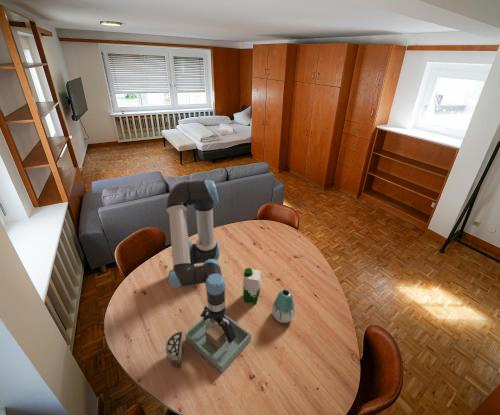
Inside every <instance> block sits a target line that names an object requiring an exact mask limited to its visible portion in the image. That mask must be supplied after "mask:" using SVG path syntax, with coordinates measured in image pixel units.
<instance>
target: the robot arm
mask: <svg viewBox="0 0 500 415" xmlns="http://www.w3.org/2000/svg"><path fill="white" fill-rule="evenodd" d="M219 200H220V199H219V196H218V191H217V186H216V183H215V181H214V180H212V179H209V180H208V179H204V180H193V181H182V182H179V183H177V184H176V185H175V186H173V188H172V189H171V191H170V192H169V193H168V196H167V199H166V205H165V207H166V208H165V209H166V212H167V213H168V216H169V217H168V218H169V229H170V242H171V257H172V269H169V271H168V282H169V286H170V287H171V288H180V287H181V288H182V287H187V286H191V285H200V284H205V290H206V302H207V304H206V305H205V306H204V307H203V311H202V313H201V314H199V315H200V317H201V318H203V319H204V323H205V330H207V329H208V328H209V327H210V326H211V324H210V319H211V318H213V320H215V321H216V322H217V323H218V325H219V326H220V327H221V328H222V330H223V331H224V333H225V335H226V337H227V338H226V347H227V348H228V347H229V346H230V345H231V342H232V341H233V340H234V339H235V338H236V335H235V333H234V330H233V328H232V326H231V322H230V319H231V318H230V319H228V320H226V319H225V316H224V314H225V315H226V291H225V289H226V288H225V287H226V283H225V278H224V276H223V274H222V268H221V266H220V263H219V262H218V260H219V258H220V243H219V241H218V240H216V239H215V236H214V212H213V210H214V208H216V204H218V203H219V202H220V201H219ZM189 206H191V207H192V208H193V209H194V210H195V214H196V228H197V240H196V242H195V243H192V242H191V241H190V240H189V231H188V223H187V222H188V221H187V213H186V212H187V211H188V207H189ZM197 264H202V265H197ZM221 322H222V323H221ZM220 323H221V324H220Z"/></svg>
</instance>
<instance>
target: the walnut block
mask: <svg viewBox="0 0 500 415" xmlns="http://www.w3.org/2000/svg"><path fill="white" fill-rule="evenodd" d="M221 323H222V322H221ZM221 323H220V324H221ZM205 335H206V342H207V343H208V344H209V345H210V346H211V347H212V348H214V349H215V350H216V351H218V350H219V349H220V347H221V346H222V345H223V344H224V343H225V342H226V338H227V337H226V335H225V333H224V331H223V330H222V328H221V327H220V326H219V325H218V323H217V322H215V323H213V324H212V325H211V326H210V327H209V328H208V329H207V330H206V331H205Z"/></svg>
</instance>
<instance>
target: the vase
mask: <svg viewBox="0 0 500 415" xmlns="http://www.w3.org/2000/svg"><path fill="white" fill-rule="evenodd" d="M271 313H272V316H273V318H274V319H275V320H276V321H277V322H279V323H281V324H286V323H289V322H291V321H292V320H293V319H294V317H295V315H296V306H295V302H294V297H293V294H292V292H291V291H290V290H289V289H287V288H284V289H281V290H280V291H279V292H278V294H277V296H276V298H275V299H274V302H273V304H272V306H271Z"/></svg>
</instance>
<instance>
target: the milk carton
mask: <svg viewBox="0 0 500 415" xmlns="http://www.w3.org/2000/svg"><path fill="white" fill-rule="evenodd" d="M261 272H262V271H261V270H259V269H253V268H250V267H247V268H245V269H244V272H243V277H242V278H243V281H242V282H243V284H242V287H243V288H242V289H243V295H242V296H243V302H244V303H250V304H255V305H256V304H257V303H258V300H259V297H260V292H261V282H262V281H261V280H262V276H261V274H262V273H261Z"/></svg>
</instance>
